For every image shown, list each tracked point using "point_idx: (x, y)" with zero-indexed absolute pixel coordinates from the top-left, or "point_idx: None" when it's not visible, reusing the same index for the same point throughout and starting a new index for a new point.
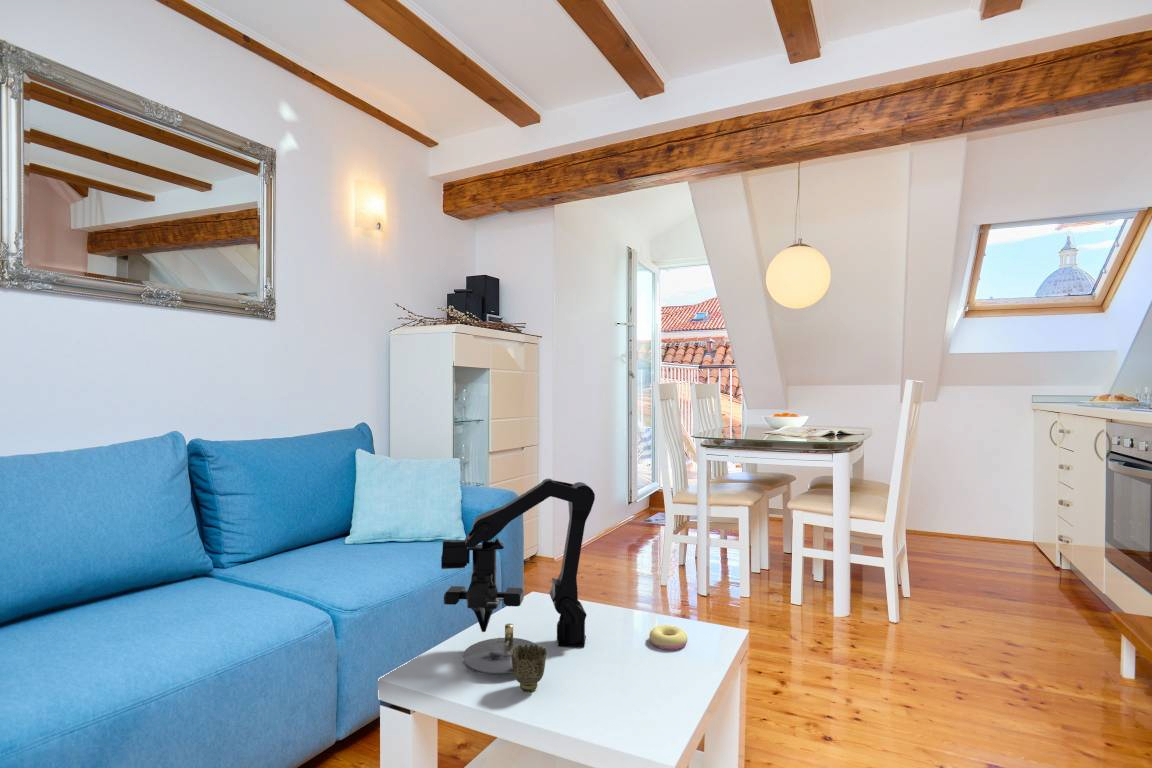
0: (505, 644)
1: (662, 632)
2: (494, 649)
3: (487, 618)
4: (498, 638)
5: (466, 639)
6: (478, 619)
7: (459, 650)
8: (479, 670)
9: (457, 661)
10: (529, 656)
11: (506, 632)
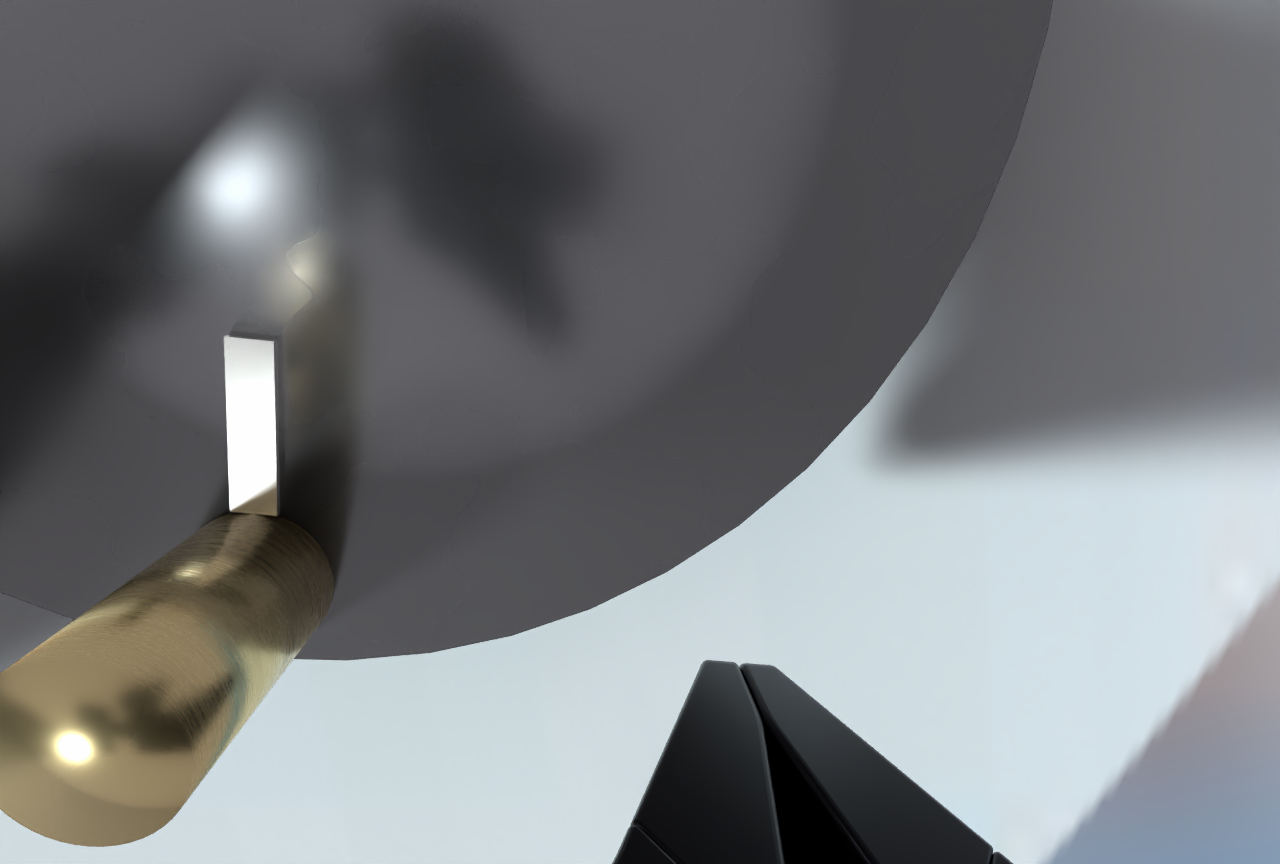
0: (266, 344)
1: None
2: (446, 124)
3: (663, 854)
4: (458, 626)
5: (959, 809)
6: (968, 844)
7: (1045, 473)
8: None
9: (1068, 68)
10: None
11: (211, 592)
